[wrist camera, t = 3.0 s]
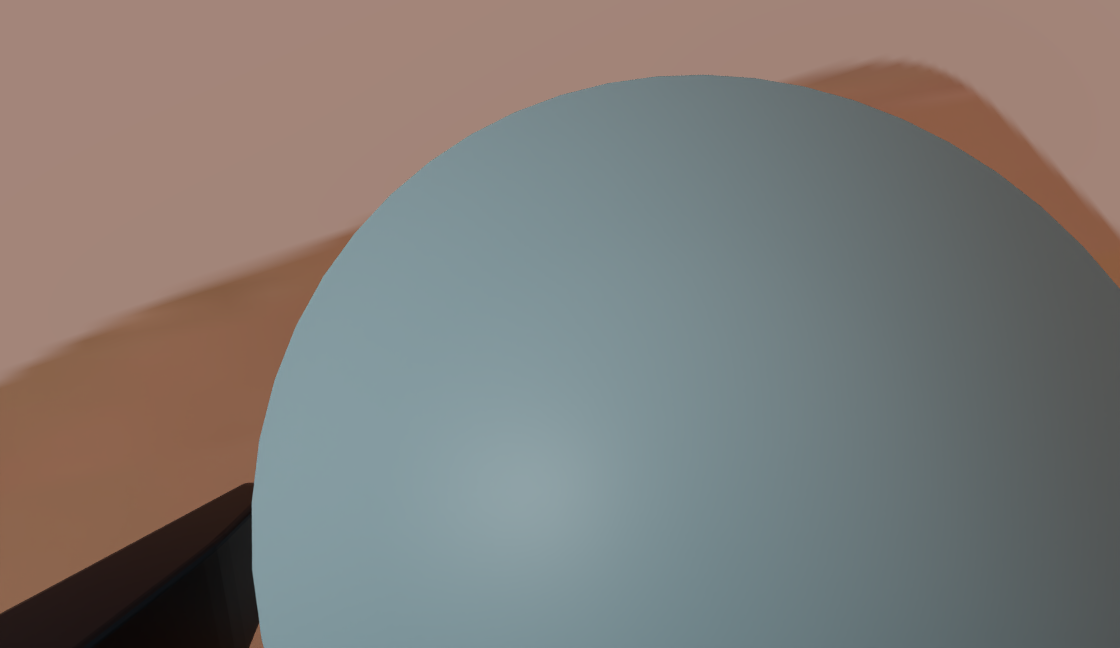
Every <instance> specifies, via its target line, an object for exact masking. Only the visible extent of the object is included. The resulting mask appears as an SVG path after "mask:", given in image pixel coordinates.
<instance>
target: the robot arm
mask: <svg viewBox="0 0 1120 648" xmlns="http://www.w3.org/2000/svg"><path fill="white" fill-rule="evenodd" d="M253 489H254V483H245V484H243V485H240V486H238V487H237V488H235V489H233V490H231V491H229V492H227V493H225V494H223V495H222V496H220V497H218V498H216V499H214V500H212V501H210V502H209V503H207V504H205V505H203V506H201V507H199V508H197V509H195V510H194V511H192V512H190V513H188V514H186V515H184V516H182V517H180V518H179V519H177V520H175V521H173V522H171V523H169V524H167V525H165V526H164V527H162V528H160V529H158V530H156V531H154V532H152V533H151V534H149V535H147V536H145V537H143V538H141V539H139V540H137V541H136V542H134V543H132V544H130V545H128V546H126V547H124V548H122V549H121V550H119V551H117V552H115V553H113V554H111V555H109V556H108V557H106V558H104V559H102V560H100V561H98V562H96V563H94V564H93V565H91V566H89V567H87V568H85V569H83V570H81V571H79V572H78V573H76V574H74V575H72V576H70V577H68V578H66V579H64V580H63V581H61V582H59V583H57V584H55V585H53V586H51V587H49V588H48V589H46V590H44V591H42V592H40V593H38V594H36V595H34V596H33V597H31V598H29V599H27V600H25V601H23V602H21V603H19V604H18V605H16V606H14V607H12V608H10V609H8V610H6V611H4V612H3V613H1V614H0V648H249V647H250V644H251V642H252V639H253V637H254V634H255V632H256V629H257V627H258V624H259V615H258V608H257V601H256V594H255V586H254V579H253V572H252V497H253Z"/></svg>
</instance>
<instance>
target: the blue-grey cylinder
mask: <svg viewBox="0 0 1120 648" xmlns="http://www.w3.org/2000/svg"><path fill="white" fill-rule="evenodd" d="M252 572H253V579H254V586H255V594H256V601H257V608H258V615H259V623H260V630H261V637H262V642H263V646H264V648H1120V289H1119V288H1118V286H1117V285H1116V284H1115V283H1114V282H1113V281H1112V279H1111V278H1110V277H1109V276H1108V275H1107V274H1106V272H1105V271H1104V270H1103V269H1102V268H1101V267H1100V266H1099V264H1098V263H1097V262H1096V261H1095V260H1094V259H1093V257H1092V256H1091V255H1090V254H1089V253H1088V252H1087V250H1086V249H1085V248H1084V247H1083V246H1082V245H1081V244H1080V243H1079V242H1078V241H1077V240H1076V239H1075V238H1074V237H1073V236H1071V235H1070V234H1069V233H1068V232H1067V231H1066V230H1065V229H1064V228H1063V227H1062V226H1061V225H1060V224H1059V223H1058V222H1057V221H1056V220H1055V219H1054V218H1053V217H1051V216H1050V215H1049V214H1048V213H1047V212H1046V211H1045V210H1044V209H1043V208H1042V207H1041V206H1040V205H1038V204H1037V203H1036V202H1034V201H1033V200H1032V199H1031V198H1029V197H1028V196H1027V195H1025V194H1024V193H1023V192H1022V191H1020V190H1019V189H1018V188H1016V187H1015V186H1014V185H1012V184H1011V183H1010V182H1009V181H1007V180H1006V179H1005V178H1003V177H1002V176H1001V175H1000V174H998V173H997V172H996V171H994V170H992V169H991V168H989V167H988V166H986V165H984V164H983V163H981V162H980V161H978V160H976V159H975V158H973V157H972V156H970V155H969V154H967V153H965V152H964V151H962V150H961V149H959V148H957V147H956V146H954V145H953V144H951V143H949V142H947V141H945V140H943V139H941V138H939V137H937V136H935V135H933V134H931V133H929V132H927V131H925V130H923V129H921V128H919V127H917V126H915V125H913V124H911V123H909V122H907V121H905V120H903V119H901V118H898V117H896V116H893V115H891V114H888V113H885V112H883V111H880V110H878V109H875V108H872V107H870V106H867V105H865V104H862V103H859V102H857V101H854V100H851V99H847V98H843V97H840V96H836V95H833V94H829V93H825V92H822V91H818V90H814V89H811V88H807V87H803V86H797V85H791V84H785V83H780V82H774V81H768V80H762V79H756V78H744V77H729V76H714V75H689V76H658V77H649V78H643V79H635V80H629V81H621V82H614V83H607V84H604V85H599V86H595V87H592V88H587V89H583V90H580V91H576V92H571V93H567V94H564V95H560V96H557V97H555V98H552V99H549V100H546V101H544V102H541V103H538V104H536V105H533V106H531V107H528V108H525V109H522V110H520V111H517V112H515V113H513V114H510V115H509V116H507V117H505V118H503V119H501V120H499V121H497V122H495V123H493V124H491V125H489V126H487V127H485V128H483V129H481V130H479V131H477V132H475V133H473V134H471V135H470V136H468V137H466V138H465V139H463V140H462V141H460V142H459V143H457V144H456V145H454V146H453V147H451V148H450V149H448V150H447V151H445V152H444V153H442V154H441V155H439V156H438V157H436V158H435V159H433V160H432V161H430V162H429V163H428V164H427V165H425V166H424V167H423V168H422V169H421V170H419V171H418V172H417V173H416V174H415V175H413V176H412V177H411V178H410V179H409V180H408V181H406V182H405V183H404V184H403V185H402V186H401V187H399V188H398V189H397V190H396V191H395V192H393V193H392V194H391V195H390V196H389V197H388V198H387V199H386V200H385V201H384V202H383V203H382V205H381V206H380V207H379V208H378V209H377V210H376V211H375V212H374V213H373V214H372V215H371V216H370V217H369V219H368V220H367V221H366V222H365V223H364V224H363V225H362V226H361V227H360V228H359V229H358V230H357V231H356V233H355V234H354V235H353V236H352V238H351V239H350V241H349V242H348V243H347V245H346V246H345V247H344V249H343V250H342V252H341V253H340V254H339V256H338V257H337V259H336V260H335V261H334V263H333V264H332V265H331V267H330V268H329V270H328V271H327V272H326V274H325V275H324V276H323V278H322V280H321V282H320V284H319V285H318V287H317V289H316V291H315V293H314V295H313V296H312V298H311V300H310V302H309V304H308V305H307V307H306V309H305V311H304V313H303V315H302V316H301V318H300V320H299V322H298V324H297V325H296V328H295V330H294V333H293V335H292V338H291V340H290V343H289V345H288V348H287V350H286V353H285V356H284V358H283V361H282V363H281V366H280V368H279V371H278V373H277V376H276V378H275V381H274V385H273V389H272V393H271V397H270V401H269V404H268V408H267V412H266V416H265V420H264V424H263V428H262V432H261V436H260V440H259V448H258V456H257V464H256V473H255V481H254V489H253V497H252Z"/></svg>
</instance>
